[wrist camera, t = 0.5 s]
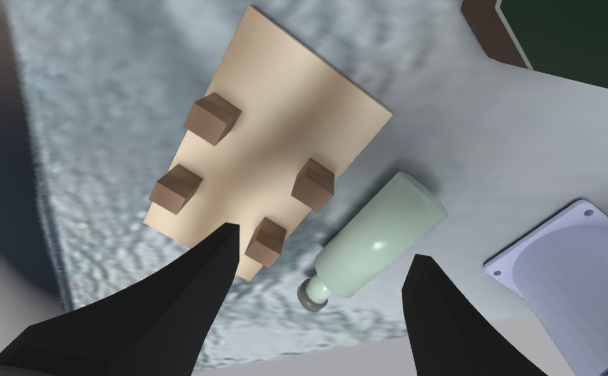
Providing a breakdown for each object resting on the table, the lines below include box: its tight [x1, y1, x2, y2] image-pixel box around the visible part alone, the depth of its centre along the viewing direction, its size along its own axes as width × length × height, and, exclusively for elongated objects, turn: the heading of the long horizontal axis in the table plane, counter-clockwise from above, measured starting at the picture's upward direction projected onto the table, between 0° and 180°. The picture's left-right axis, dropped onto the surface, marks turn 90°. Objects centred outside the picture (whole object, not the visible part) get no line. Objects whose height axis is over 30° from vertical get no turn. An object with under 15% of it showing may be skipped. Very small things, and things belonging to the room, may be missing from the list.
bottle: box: [297, 171, 448, 312], centre depth 22 cm, size 4×12×4 cm, turn 146°
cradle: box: [143, 5, 393, 281], centre depth 20 cm, size 10×18×4 cm, turn 146°
